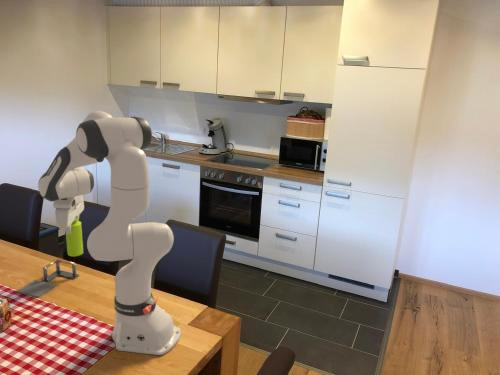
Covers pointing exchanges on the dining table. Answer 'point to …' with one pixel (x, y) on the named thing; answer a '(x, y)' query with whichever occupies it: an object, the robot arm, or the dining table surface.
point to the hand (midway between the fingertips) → (72, 229)
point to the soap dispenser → (75, 239)
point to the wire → (59, 271)
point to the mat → (36, 288)
